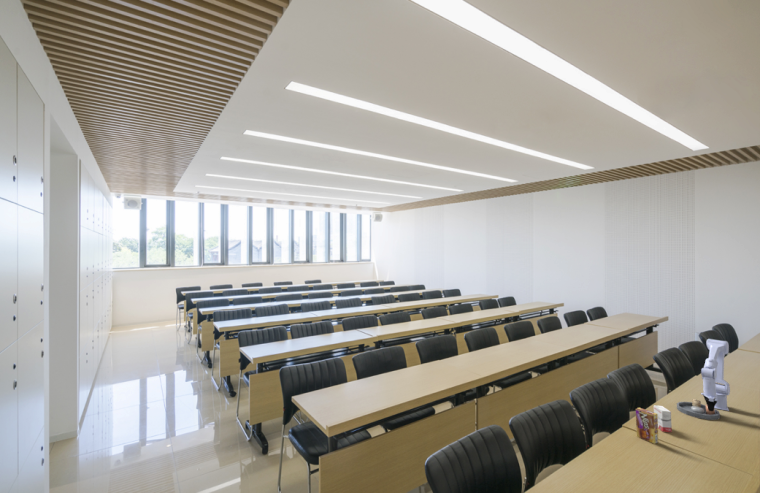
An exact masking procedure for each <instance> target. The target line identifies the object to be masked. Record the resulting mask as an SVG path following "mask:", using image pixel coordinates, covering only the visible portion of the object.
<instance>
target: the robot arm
mask: <svg viewBox="0 0 760 493" xmlns="http://www.w3.org/2000/svg"><path fill="white" fill-rule="evenodd" d="M705 344H706V348H707V349H708V350H709V351H708V352H709V354H708V358H706V359H705V361H704V362H705V363H704V365H703V367H702V368H701V369H700V370H701V371H700V374H701V379H702V382H703V383H702V388H703V392H701V393H700V394H701V396H703V397H704V401H705V403H706V404H705V405H707V406H708V410H709V411H714V409H716V410H723V411H727V412H729V411H730V410H729V407H728V398H727V397H728V396H729V395H730V394H731V387H730V383H729V382H728V381H726V380H725V379H724V378H725V373H724V372H725V355H728V354H729V351H730V350H729V349H730V348H729V347H730V346H729V342H728V341H727V340H719V339H713V338H708V339H706V343H705Z"/></svg>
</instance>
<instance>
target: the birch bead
mask: <svg viewBox="0 0 760 493" xmlns="http://www.w3.org/2000/svg"><path fill="white" fill-rule="evenodd" d="M691 402H692V406H696V407H700V408H701V404H702V403H701V400H700V399H692V400H691Z"/></svg>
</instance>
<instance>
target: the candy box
mask: <svg viewBox="0 0 760 493" xmlns="http://www.w3.org/2000/svg"><path fill="white" fill-rule="evenodd" d="M635 422H636V423H635V425H636V428H635V429H636V438H639V439H642V440H644V441H647V442H650V443H652V444H654V445H655V444H657V443H659V428H658V415H657V413H654V411H651V410H648V409H645V408H641V407H637V408H635Z"/></svg>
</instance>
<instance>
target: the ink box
mask: <svg viewBox="0 0 760 493" xmlns="http://www.w3.org/2000/svg"><path fill="white" fill-rule="evenodd" d="M653 412H654V413H657V415H658V430H660V431H662V432H663V433H673V431H672V429H673V428H672V411H670V410H669V409H668V408H666V407H664V406H663V405H658V404H657V405H653Z"/></svg>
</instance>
